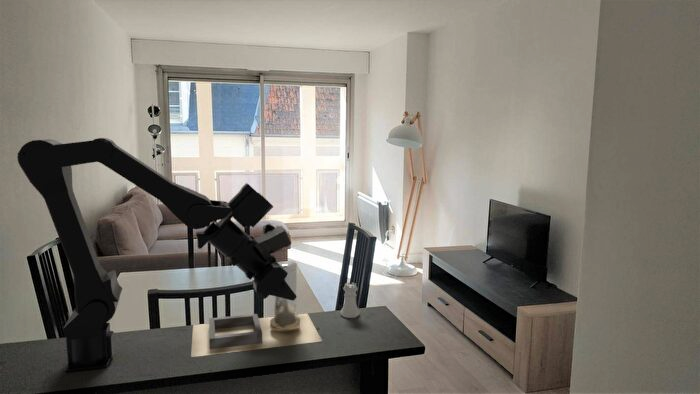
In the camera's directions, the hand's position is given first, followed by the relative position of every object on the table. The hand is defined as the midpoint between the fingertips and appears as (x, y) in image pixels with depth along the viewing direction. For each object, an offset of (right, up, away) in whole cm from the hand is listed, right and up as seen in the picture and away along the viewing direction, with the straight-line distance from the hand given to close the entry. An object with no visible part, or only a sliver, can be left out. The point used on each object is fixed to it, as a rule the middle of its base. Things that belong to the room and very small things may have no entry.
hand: (292, 294), depth 92 cm
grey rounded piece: (-1, -7, 0) cm, 7 cm away
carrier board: (-7, -8, -1) cm, 11 cm away
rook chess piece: (+12, -8, +9) cm, 17 cm away
